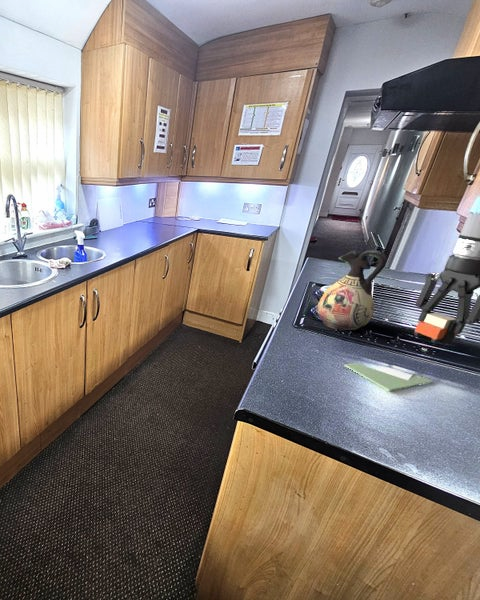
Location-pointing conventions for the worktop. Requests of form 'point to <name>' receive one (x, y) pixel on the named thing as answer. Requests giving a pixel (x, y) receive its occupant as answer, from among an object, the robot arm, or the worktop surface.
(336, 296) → the ceramic jug
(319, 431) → the worktop surface
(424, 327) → the toy car
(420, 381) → the mat
